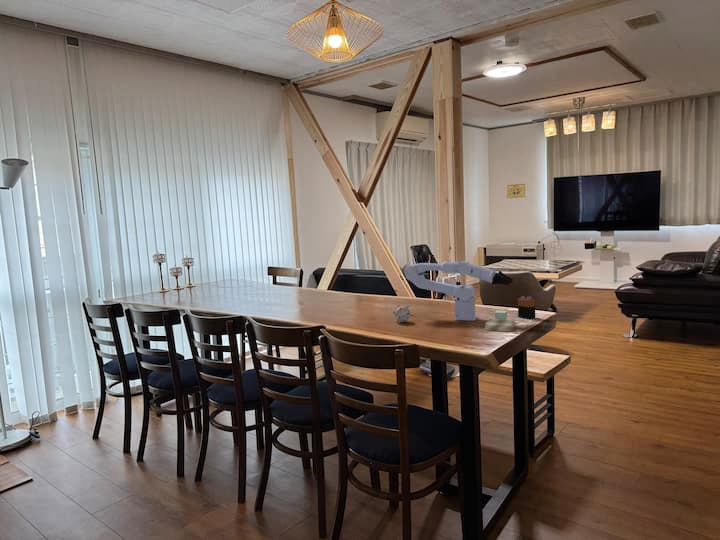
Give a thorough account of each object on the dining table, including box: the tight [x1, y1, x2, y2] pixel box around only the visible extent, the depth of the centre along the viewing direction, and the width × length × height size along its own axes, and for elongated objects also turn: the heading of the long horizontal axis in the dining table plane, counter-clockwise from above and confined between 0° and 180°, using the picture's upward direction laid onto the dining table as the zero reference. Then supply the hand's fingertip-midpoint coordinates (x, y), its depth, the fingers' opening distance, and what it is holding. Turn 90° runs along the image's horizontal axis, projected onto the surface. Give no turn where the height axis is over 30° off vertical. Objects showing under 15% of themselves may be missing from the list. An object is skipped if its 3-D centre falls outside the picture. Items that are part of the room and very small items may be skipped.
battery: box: [517, 295, 536, 320], centre depth 236 cm, size 4×7×10 cm, turn 36°
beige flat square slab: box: [484, 318, 516, 332], centre depth 219 cm, size 11×11×3 cm
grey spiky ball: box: [392, 304, 414, 324], centre depth 238 cm, size 9×8×10 cm
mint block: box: [494, 310, 508, 320], centre depth 229 cm, size 5×5×5 cm
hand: (511, 282), depth 228 cm, fingers open, 7 cm apart
